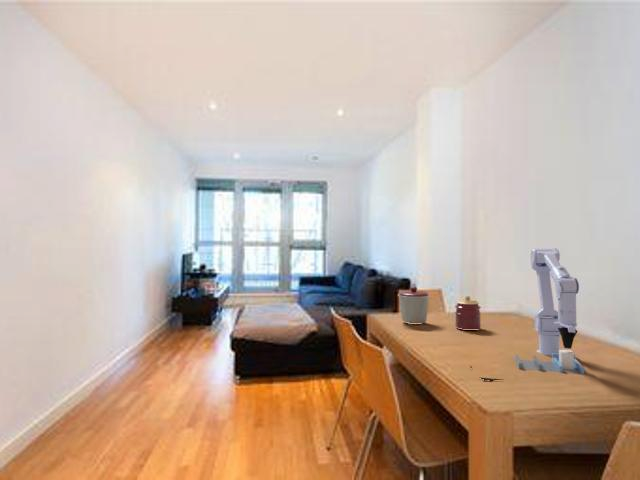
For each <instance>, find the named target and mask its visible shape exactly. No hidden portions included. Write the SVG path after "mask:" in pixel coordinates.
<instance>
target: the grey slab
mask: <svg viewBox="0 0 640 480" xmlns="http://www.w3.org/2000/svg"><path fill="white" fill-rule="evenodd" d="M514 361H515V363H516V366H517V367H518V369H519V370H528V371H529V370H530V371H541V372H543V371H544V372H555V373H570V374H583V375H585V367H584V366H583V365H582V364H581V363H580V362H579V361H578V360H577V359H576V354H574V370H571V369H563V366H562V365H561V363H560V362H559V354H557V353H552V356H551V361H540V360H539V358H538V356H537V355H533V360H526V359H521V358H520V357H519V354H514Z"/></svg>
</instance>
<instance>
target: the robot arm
mask: <svg viewBox="0 0 640 480" xmlns="http://www.w3.org/2000/svg"><path fill="white" fill-rule="evenodd" d="M560 254H561V253H560V250H559V249H558V248H532V250H531V251H530V265H531V269H532V270H534V271H536V276H537V285H538V295H539V301H540V302H539V303H540V310H539V311H538V312H536V313H535V315H534V321H533V322H534V323H533V324H534V329H535V331H536V333H539V336H538V349H537V350H536V352H537V353H539V354H540V355H543V356H548V357H552V353H557V354H559V350H560V336H561V340H562V345H563V348H564V349H567V350H572V347H573V343H574V340H575V337H576V335H577V334H578V330H577V329H576V328H577V327H578V323H577V294H578V293H579V290H580V283H579V280H578V279H577V277H574V276H571V274H570V273H569V271H568V270H567V269H566V267H564V266H562V265H561V263H560V257H561V255H560ZM551 279H552V280H553V282H554V288H555V294H556V298H557V310H556V309H555V306H554V296H553V290H552V289H553V288H552V283H551V282H552V281H551Z"/></svg>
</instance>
